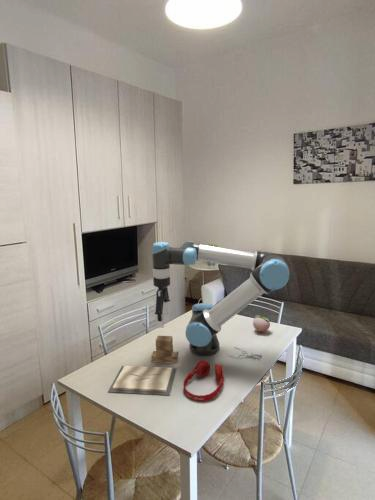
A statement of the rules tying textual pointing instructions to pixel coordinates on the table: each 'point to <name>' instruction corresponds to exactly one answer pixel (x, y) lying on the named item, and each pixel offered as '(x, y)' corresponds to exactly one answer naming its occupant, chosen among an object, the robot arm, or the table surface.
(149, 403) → the table surface
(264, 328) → the decorative fruit
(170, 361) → the stepped wooden block
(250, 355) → the pliers
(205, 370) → the headphones
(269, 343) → the table surface
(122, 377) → the board
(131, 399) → the table surface
